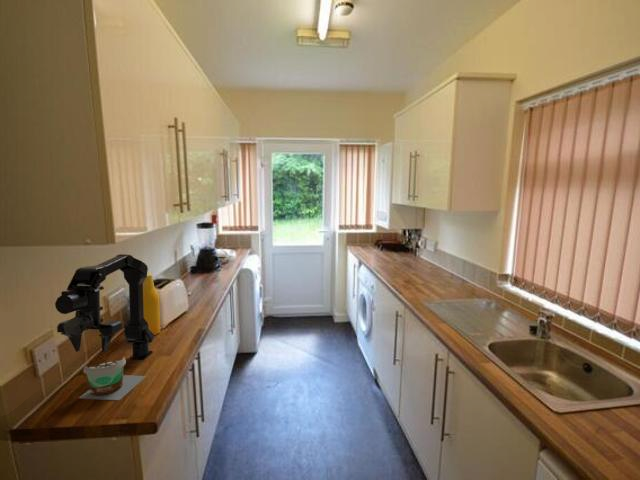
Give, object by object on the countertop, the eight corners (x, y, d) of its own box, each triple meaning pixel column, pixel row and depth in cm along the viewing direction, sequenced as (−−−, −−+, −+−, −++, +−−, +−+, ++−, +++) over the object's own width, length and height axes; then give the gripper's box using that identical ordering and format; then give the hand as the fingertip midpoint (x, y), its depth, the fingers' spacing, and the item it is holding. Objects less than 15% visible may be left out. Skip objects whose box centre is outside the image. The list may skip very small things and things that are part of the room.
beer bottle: (164, 332, 166) (162, 274, 162) (146, 338, 158) (143, 278, 155) (154, 328, 171) (151, 272, 167) (135, 334, 163) (132, 275, 160)
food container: (85, 402, 108) (83, 373, 107) (85, 393, 113) (82, 365, 111) (129, 390, 115) (127, 362, 114) (127, 382, 120) (125, 355, 119)
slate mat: (110, 374, 125) (110, 374, 125) (146, 376, 124) (146, 376, 124) (78, 398, 110) (78, 397, 110) (119, 400, 109) (119, 400, 109)
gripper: (41, 311, 104) (43, 360, 105) (99, 313, 103) (100, 363, 104) (70, 302, 115) (71, 347, 116) (122, 304, 114) (123, 349, 115)
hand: (90, 351), depth 112 cm, fingers open, 9 cm apart
